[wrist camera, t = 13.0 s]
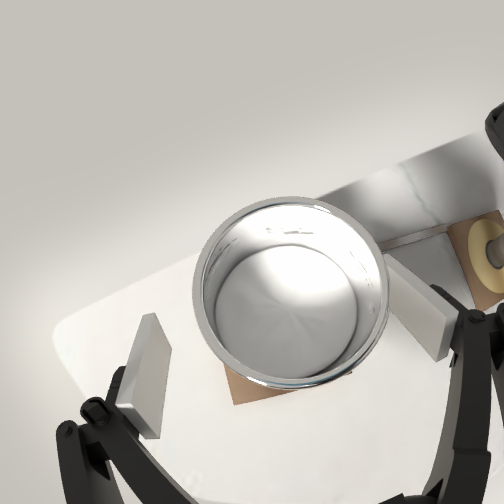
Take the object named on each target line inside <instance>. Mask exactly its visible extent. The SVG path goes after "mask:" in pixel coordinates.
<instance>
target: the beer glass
mask: <svg viewBox="0 0 504 504" xmlns="http://www.w3.org/2000/svg"><path fill="white" fill-rule="evenodd" d="M192 299H193V307H194V313H195V317H196V320H197V323H198V326H199V329H200V331H201V333H202V335H203V337H204V339H205V341H206V342H207V344H208V346H209V347H210V348H211V350H212V351H213V352H214V354H215V355H216V356H217V357H218V358H219V359H220V360H221V361H222V362H223V363H224V364H225V365H226V366H227V367H229V368H230V369H231V370H232V371H234V372H235V373H237V374H238V375H240V376H242V377H243V378H245V379H247V380H249V381H252V382H254V383H257V384H259V385H262V386H266V387H270V388H275V389H283V390H302V389H310V388H315V387H319V386H322V385H325V384H328V383H331V382H333V381H335V380H337V379H339V378H341V377H343V376H344V375H346V374H348V373H349V372H350V371H352V370H353V369H354V368H356V367H357V366H358V365H359V364H360V363H361V362H362V361H363V360H364V359H365V358H366V357H367V356H368V355H369V354H370V352H371V351H372V350H373V348H374V347H375V346H376V344H377V342H378V341H379V339H380V337H381V335H382V333H383V331H384V328H385V326H386V323H387V319H388V315H389V311H390V304H391V284H390V277H389V272H388V268H387V265H386V262H385V259H384V257H383V255H382V252H381V250H380V248H379V247H378V245H377V243H376V242H375V240H374V239H373V237H372V236H371V235H370V234H369V232H368V231H367V230H366V229H365V228H364V227H363V226H362V225H361V224H360V223H359V222H358V221H357V220H355V219H354V218H353V217H352V216H350V215H349V214H347V213H346V212H344V211H343V210H341V209H339V208H337V207H335V206H333V205H331V204H328V203H325V202H322V201H319V200H315V199H311V198H305V197H278V198H271V199H267V200H263V201H260V202H257V203H254V204H252V205H249V206H247V207H245V208H243V209H241V210H240V211H238V212H237V213H235V214H233V215H232V216H231V217H229V218H228V219H227V220H226V221H224V222H223V223H222V224H221V225H220V226H219V227H218V228H217V230H216V231H215V232H214V233H213V234H212V236H211V237H210V238H209V240H208V241H207V243H206V245H205V246H204V248H203V250H202V252H201V254H200V256H199V259H198V262H197V265H196V268H195V272H194V277H193V287H192Z"/></svg>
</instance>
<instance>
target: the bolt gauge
mask: <svg viewBox="0 0 504 504" xmlns="http://www.w3.org/2000/svg"><path fill="white" fill-rule="evenodd" d="M446 231H447V233H448V235H449V238H450V240H451V242H452V244H453V247H454V249H455V251H456V254H457V256H458V259H459V261H460V264H461V266H462V269H463V272H464V274H465V277H466V280H467V282H468V285H469V288H470V291H471V294H472V297H473V300H474V303H475V306H476V310H480V311H482V312H483V311H485V310H487V309H488V308H490V307H492V306H493V305H495V304H496V303H498V302H500V301H501V300H503V299H504V220H503V218H502V216H501V214H500V212H499V210H496V211H493V212H490V213H487V214H484V215H481V216H478V217H475V218H472V219H468V220H465V221H462V222H459V223H456V224H453V225H450V226H449V227H448V228H447V227H446V225H445V224H443V225H440V226H436V227H433V228H430V229H426V230H423V231H419V232H416V233H413V234H409V235H406V236H402V237H399V238H395V239H392V240H388V241H385V242H381V243H378V244H377V245H378V247H379V248H380V250H381V252H382V251H385V250H388V249H392V248H395V247H398V246H402V245H405V244H408V243H411V242H415V241H418V240H421V239H424V238H428V237H431V236H434V235H437V234H440V233H443V232H446ZM224 367H225V372H226V376H227V380H228V384H229V388H230V392H231V396H232V400H233V404H234V405H238V404H243V403H248V402H252V401H257V400H261V399H266V398H270V397H274V396H278V395H282V394H286V393H289V392H293V391H297V390H283V389H275V388H270V387H266V386H262V385H259V384H257V383H254V382H252V381H249V380H247V379H245V378H243V377H242V376H240V375H238V374H237V373H235V372H234V371H232V370H231V369H230V368H229V367H227V366H226V365H225V364H224ZM351 373H352V371H350V372H349V373H348V374H351ZM348 374H346V375H348ZM344 376H345V375H344Z"/></svg>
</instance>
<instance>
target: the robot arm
mask: <svg viewBox="0 0 504 504" xmlns="http://www.w3.org/2000/svg"><path fill="white" fill-rule="evenodd" d="M485 128H486V131H487V134H488V136H489V138H490V140H491V142H492V143H493V145H494V147H495V148H496V150H497V151H498V153H499V154H500V155H501V156H502V158H503V159H504V102H503V103H502V104H500V105H499V106H498V107H496V108H495V109H493V110H492V111H491V112H490V114H489V115H488V117H487V119H486V120H485ZM383 257H384V259H385V262H386V265H387V268H388V272H389V277H390V284H391V304H390V310H391V311H392V312H393V314H394V315H395V316H396V317H397V318H398V319H399V320H400V321H401V323H402V324H403V325H404V326H405V327H406V328H407V329H408V331H409V332H410V333H411V334H412V335H413V336H414V337H415V339H416V340H417V341H418V342H419V343H420V344H421V346H422V347H423V348H424V349H425V350H426V351H427V353H428V354H429V355H430V356H431V357H432V359H433V360H434V361H435V362H438V361H440V360H441V359H443V358H445V357H447V356H448V352H449V349H450V348H451V349H452V350H453V351H454V354H453V357H452V360H451V363H450V366H449V367H452V369H451V379H450V387H449V394H448V401H447V407H446V413H445V418H444V424H443V428H442V433H441V438H440V442H439V446H438V450H437V454H436V458H435V461H434V465H433V468H432V472H431V475H430V477H429V480H428V481H427V483H426V485H425V487H424V490H423V492H422V495H413V496H406V497H404V495H403V493H401V494H399V495H397V496H395V497H393V498H391V499H388V500H386V501H384V502H381V503H379V504H482V501H483V497H484V493H485V489H486V484H487V479H488V474H489V469H490V463H491V452H489V451H487V444H488V436H489V426H490V413H491V373H492V377H493V381H494V384H495V388H496V392H497V397H498V401H499V406H500V410H501V415H502V421H503V426H504V303H500V304H499V305H498V308H497V311H496V313H492V314H487V315H486V314H485V313H484V312H482V311H480V310H476V309H471V310H468V309H467V308H465V307H464V306H463V305H462V304H461V303H460V302H458V301H457V300H456V299H455V298H454V297H453V298H452V296H451V295H450V294H449V293H447V292H446V291H445V290H444V289H442V288H441V287H439V286H436V285H434V284H432V285H430V286H428V285H427V284H426V283H425V282H423V281H422V280H421V279H420V278H418V277H417V276H416V275H415V274H413V273H412V272H411V271H410V270H408V269H407V268H406V267H405V266H403V265H402V264H401V263H399V262H398V261H397V260H396V259H394V258H393V257H392V256H390V255H389V254H388V253H387V254H383ZM171 351H172V348H171V346H170V344H169V342H168V340H167V338H166V336H165V333H164V331H163V329H162V327H161V325H160V323H159V321H158V318H157V316H156V314H155V313H151V314H146V315H143V317H142V319H141V322H140V325H139V328H138V331H137V334H136V337H135V340H134V343H133V346H132V349H131V352H130V355H129V359H128V362H127V365H126V366H121V367H119V368H118V369H117V370H116V372H115V373H114V375H113V378H112V381H111V382H112V383H111V384H110V387H109V388H110V389H109V390H108V393H107V397H106V400H105V401H104V400H103V399H102V398H100V397H92V398H90V399H88V400H87V401H85V402H84V403H83V405H82V406H81V410H80V414H81V416H82V417H83V418H84V419H85V420H86V421H87V424H83V425H80V426H78V425H77V424H76V423H75V422H73V421H71V420H68V421H64V422H63V423H61V424H60V425H59V426H58V428H57V430H56V441H57V451H58V458H59V466H60V472H61V478H62V484H63V489H64V494H65V498H66V502H67V504H124V502H123V499H122V497H121V494H120V491H119V489H118V486H117V483H116V480H115V478H114V474H113V471H112V468H111V465H110V462H109V460H112V462H113V464H114V465H115V466H116V468H117V470H118V471H119V472H120V474H121V475H122V477H123V478H124V479H125V481H126V482H127V484H128V485H129V486H130V487H131V489H132V490H133V492H134V493H135V494H136V496H137V497H138V498H139V499H140V501H141V502H142V503H143V504H199V503H197V502H196V501H195V500H194V499H193V498H192V497H191V496H190V495H189V494H188V493H187V492H186V491H185V490H184V489H183V488H182V487H181V486H180V485H179V484H178V483H177V482H176V481H175V480H174V479H173V478H172V477H171V476H170V475H169V474H168V473H167V472H166V471H165V470H164V469H163V467H162V466H161V465H160V464H159V463H158V462H157V461H156V460H155V458H154V457H153V456H152V455H151V454H150V453H149V451H148V450H147V449H146V448H145V447H144V446H143V444H142V443H141V442H140V441H139V440H138V439H139V433H140V434H141V435H142V436H143V437H144V438H145V439H160V434H161V424H162V416H163V407H164V400H165V392H166V385H167V377H168V371H169V364H170V357H171Z"/></svg>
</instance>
